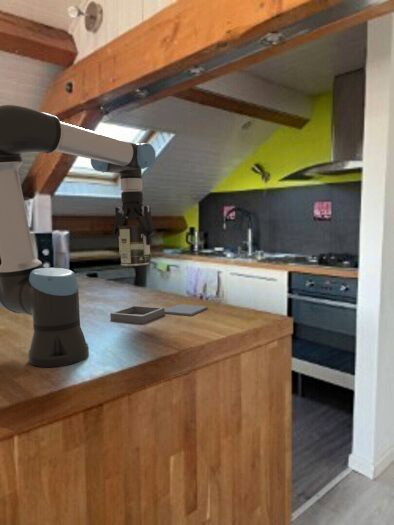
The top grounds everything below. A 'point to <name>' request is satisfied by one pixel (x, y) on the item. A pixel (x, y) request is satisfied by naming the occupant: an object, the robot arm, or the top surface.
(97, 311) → the top surface
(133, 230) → the coffee can
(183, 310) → the slate mat
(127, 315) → the collar
